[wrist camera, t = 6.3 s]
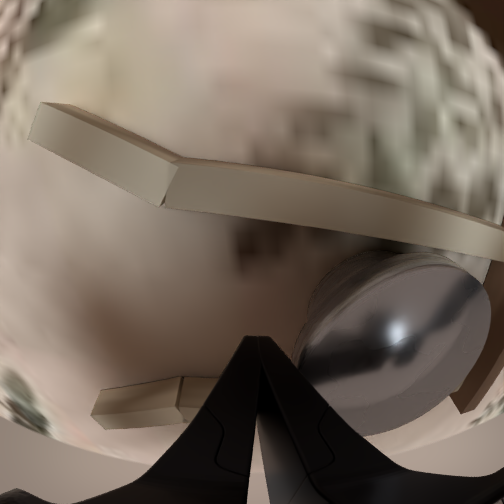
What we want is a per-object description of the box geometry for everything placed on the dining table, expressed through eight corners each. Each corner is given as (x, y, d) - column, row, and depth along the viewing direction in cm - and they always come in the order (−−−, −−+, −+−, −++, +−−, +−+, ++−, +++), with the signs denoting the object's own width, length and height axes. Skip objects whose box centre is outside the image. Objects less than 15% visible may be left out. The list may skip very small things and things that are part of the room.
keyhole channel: (524, 172, 9) (568, 187, 6) (437, 400, 14) (455, 432, 12) (59, 106, 8) (4, 104, 5) (105, 403, 13) (89, 444, 10)
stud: (455, 233, 10) (516, 273, 6) (406, 365, 13) (438, 419, 9) (295, 215, 10) (325, 263, 6) (271, 372, 12) (279, 444, 9)
